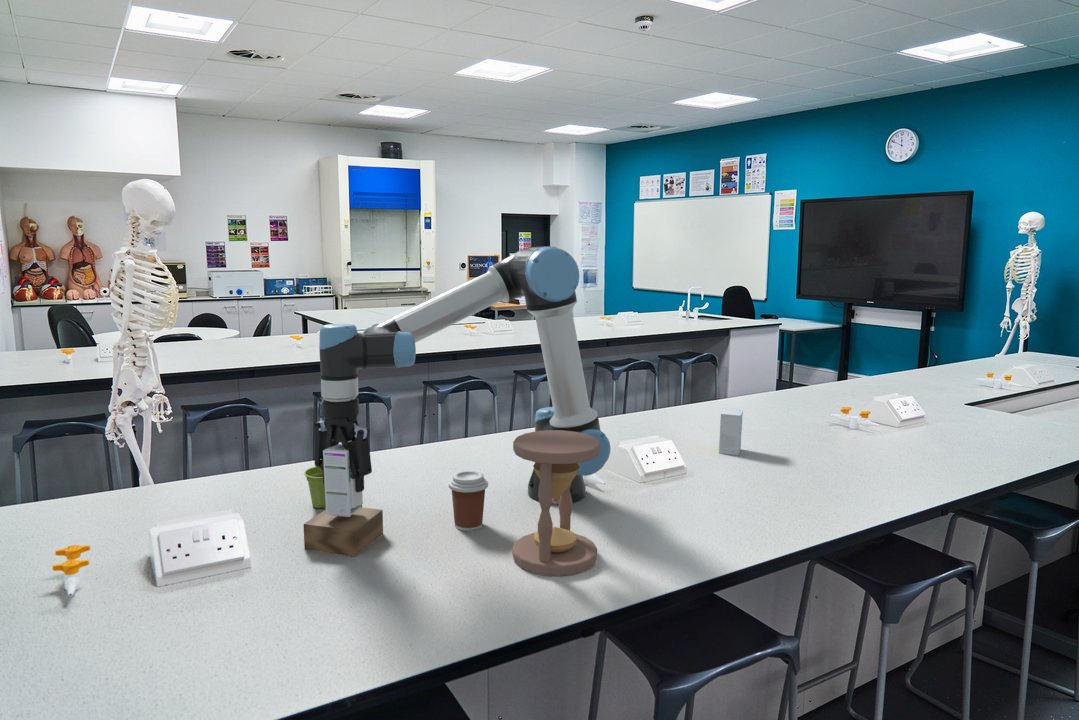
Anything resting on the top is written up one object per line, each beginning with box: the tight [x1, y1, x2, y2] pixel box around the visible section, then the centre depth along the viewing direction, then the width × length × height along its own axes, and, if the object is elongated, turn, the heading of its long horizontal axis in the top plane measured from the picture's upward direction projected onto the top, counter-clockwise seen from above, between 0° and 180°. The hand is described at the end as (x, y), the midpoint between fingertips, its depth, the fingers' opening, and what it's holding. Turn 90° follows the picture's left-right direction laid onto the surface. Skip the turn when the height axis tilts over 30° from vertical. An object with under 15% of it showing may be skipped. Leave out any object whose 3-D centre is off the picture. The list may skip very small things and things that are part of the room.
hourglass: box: [511, 430, 600, 577], centre depth 142 cm, size 18×18×25 cm
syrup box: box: [323, 442, 363, 517], centre depth 149 cm, size 6×6×14 cm
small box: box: [718, 408, 744, 456], centre depth 222 cm, size 8×6×13 cm
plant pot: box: [303, 466, 326, 509], centre depth 172 cm, size 9×9×9 cm
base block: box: [303, 506, 384, 558], centre depth 150 cm, size 12×12×6 cm
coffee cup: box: [448, 470, 489, 532], centre depth 160 cm, size 9×9×12 cm
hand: (344, 502), depth 149 cm, fingers closed on syrup box, 7 cm apart
